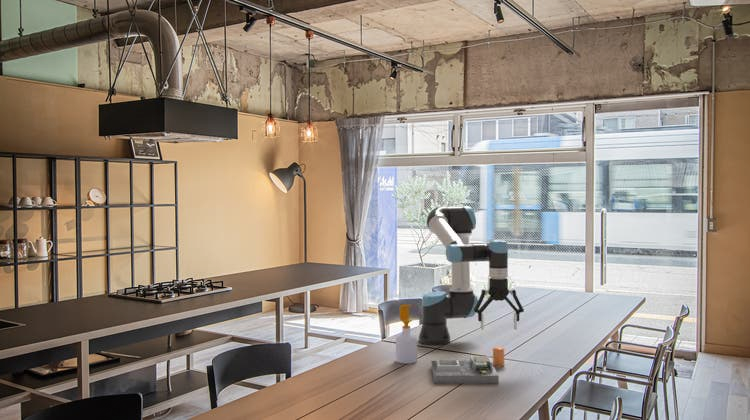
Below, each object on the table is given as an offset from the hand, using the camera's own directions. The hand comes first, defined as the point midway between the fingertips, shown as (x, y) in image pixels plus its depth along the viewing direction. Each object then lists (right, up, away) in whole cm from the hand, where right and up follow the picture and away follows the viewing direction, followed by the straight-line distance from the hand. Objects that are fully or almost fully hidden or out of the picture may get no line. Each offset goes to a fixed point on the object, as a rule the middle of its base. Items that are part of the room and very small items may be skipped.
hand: (498, 329), depth 254 cm
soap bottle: (-38, -15, +8) cm, 41 cm away
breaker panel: (-16, -16, -13) cm, 26 cm away
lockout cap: (0, -15, +1) cm, 15 cm away
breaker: (-9, -10, -12) cm, 18 cm away
